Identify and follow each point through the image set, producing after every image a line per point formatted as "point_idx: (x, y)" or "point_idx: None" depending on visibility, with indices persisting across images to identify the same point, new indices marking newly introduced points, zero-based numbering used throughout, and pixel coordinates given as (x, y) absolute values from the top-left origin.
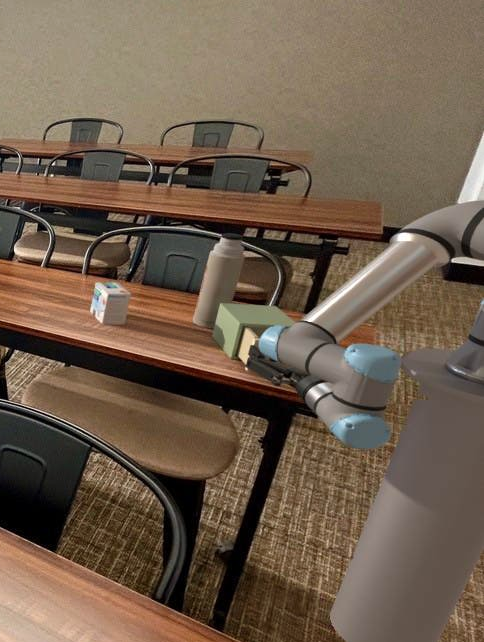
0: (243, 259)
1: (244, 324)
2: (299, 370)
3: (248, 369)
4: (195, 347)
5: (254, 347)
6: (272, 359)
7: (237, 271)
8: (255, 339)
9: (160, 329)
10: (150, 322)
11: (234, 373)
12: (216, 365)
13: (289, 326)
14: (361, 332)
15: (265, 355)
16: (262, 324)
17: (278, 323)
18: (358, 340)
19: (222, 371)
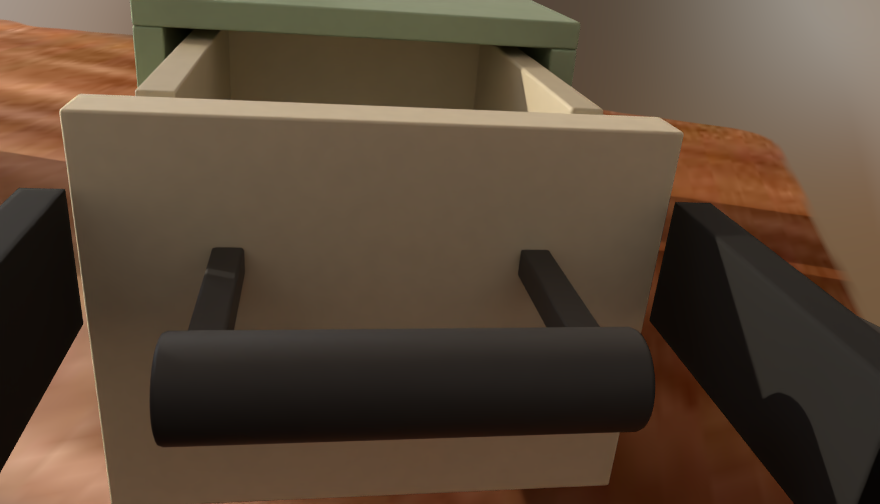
0: None
1: (171, 10)
2: (571, 438)
3: (121, 489)
4: (77, 258)
5: (12, 219)
6: (155, 415)
7: None
8: (70, 104)
9: (24, 168)
10: (27, 141)
11: (100, 499)
12: (38, 411)
13: (504, 20)
14: (773, 150)
15: (238, 315)
16: (311, 6)
17: (437, 7)
18: (779, 175)
19: (9, 488)
